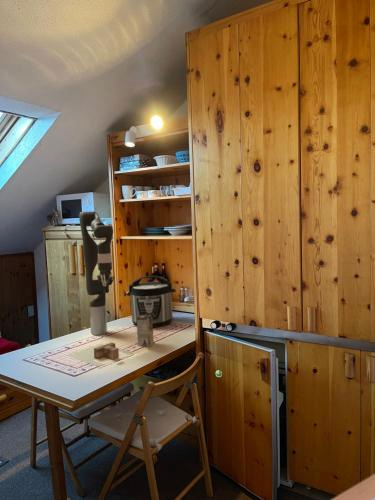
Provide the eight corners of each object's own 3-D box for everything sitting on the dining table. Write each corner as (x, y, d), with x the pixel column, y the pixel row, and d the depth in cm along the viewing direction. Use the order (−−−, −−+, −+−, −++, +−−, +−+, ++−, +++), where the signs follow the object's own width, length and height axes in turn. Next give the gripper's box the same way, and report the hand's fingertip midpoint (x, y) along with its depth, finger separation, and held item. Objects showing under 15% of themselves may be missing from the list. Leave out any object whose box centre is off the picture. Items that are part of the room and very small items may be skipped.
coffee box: (143, 342, 214) (141, 314, 213) (153, 342, 213) (152, 314, 211) (137, 347, 205) (136, 318, 204) (149, 348, 204) (147, 318, 202)
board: (66, 357, 195) (66, 355, 195) (101, 345, 211) (101, 343, 211) (99, 368, 177) (98, 366, 177) (134, 354, 194) (134, 352, 194)
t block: (94, 358, 189) (93, 348, 188) (112, 351, 197) (111, 342, 196) (106, 362, 182) (106, 352, 182) (124, 355, 190) (124, 346, 190)
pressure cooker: (120, 326, 249) (118, 278, 246) (145, 316, 273) (143, 272, 271) (158, 331, 234) (156, 280, 231) (182, 320, 258) (180, 273, 256)
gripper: (91, 261, 211) (93, 292, 212) (107, 262, 203) (108, 295, 204) (102, 260, 217) (104, 290, 218) (118, 261, 208) (119, 292, 210)
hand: (106, 292), depth 211 cm, fingers closed
